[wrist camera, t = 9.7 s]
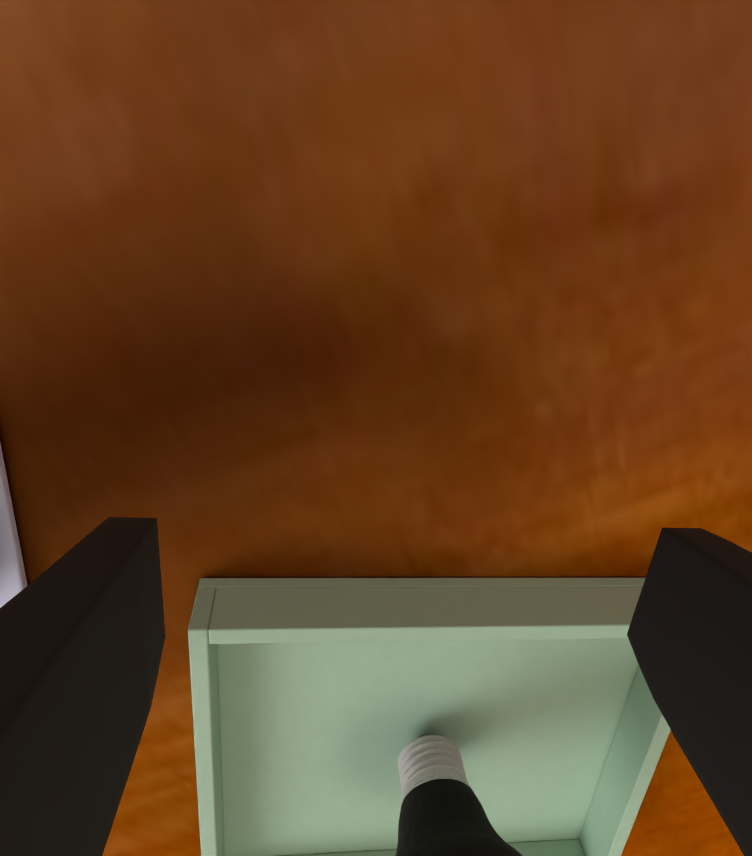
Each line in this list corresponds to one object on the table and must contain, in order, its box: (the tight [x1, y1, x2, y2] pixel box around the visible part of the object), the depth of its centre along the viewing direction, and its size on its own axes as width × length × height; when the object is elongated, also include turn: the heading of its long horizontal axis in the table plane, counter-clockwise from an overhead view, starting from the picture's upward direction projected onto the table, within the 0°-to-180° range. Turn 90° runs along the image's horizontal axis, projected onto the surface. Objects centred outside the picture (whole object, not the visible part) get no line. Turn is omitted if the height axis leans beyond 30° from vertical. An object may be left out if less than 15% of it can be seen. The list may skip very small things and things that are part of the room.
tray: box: [188, 578, 671, 856], centre depth 24 cm, size 17×15×2 cm
